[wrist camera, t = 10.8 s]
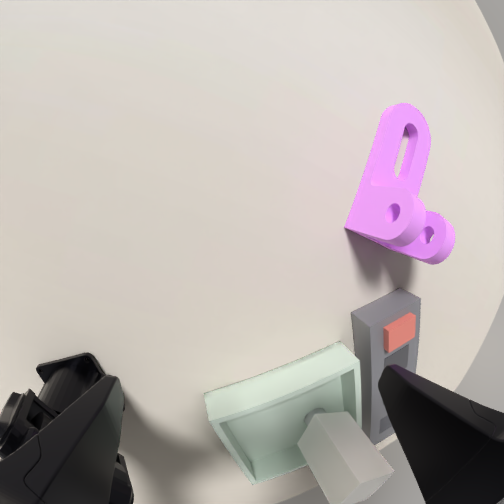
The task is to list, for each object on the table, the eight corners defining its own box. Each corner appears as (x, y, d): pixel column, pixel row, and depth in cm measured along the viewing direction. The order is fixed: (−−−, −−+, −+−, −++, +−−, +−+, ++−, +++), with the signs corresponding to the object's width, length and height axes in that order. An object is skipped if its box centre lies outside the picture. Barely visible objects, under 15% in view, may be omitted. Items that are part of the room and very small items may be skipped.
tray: (245, 462, 26) (252, 485, 23) (203, 393, 22) (208, 421, 19) (347, 420, 28) (361, 439, 25) (339, 340, 24) (359, 360, 21)
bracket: (388, 248, 24) (445, 270, 17) (343, 227, 22) (401, 245, 15) (425, 126, 22) (479, 121, 15) (386, 94, 20) (442, 77, 14)
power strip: (394, 412, 31) (410, 427, 27) (358, 433, 30) (372, 451, 26) (400, 287, 25) (426, 301, 21) (350, 312, 24) (375, 331, 20)
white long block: (290, 430, 25) (333, 510, 15) (306, 401, 25) (360, 483, 14) (321, 428, 26) (367, 498, 16) (338, 399, 26) (394, 471, 15)
